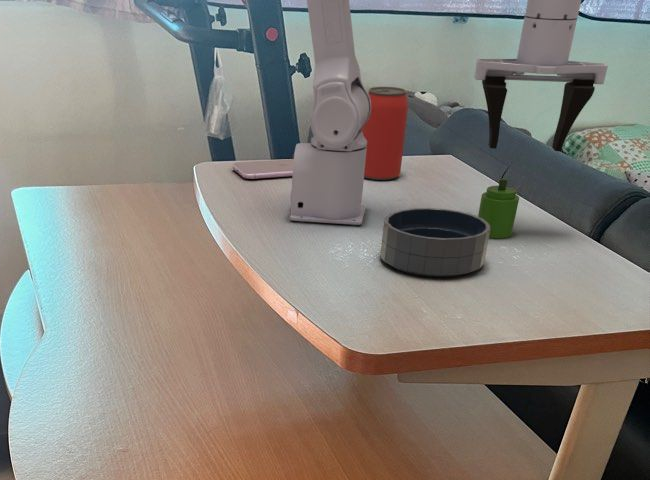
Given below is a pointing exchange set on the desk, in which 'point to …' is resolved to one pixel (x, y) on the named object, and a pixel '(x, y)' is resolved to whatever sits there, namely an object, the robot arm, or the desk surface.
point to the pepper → (499, 209)
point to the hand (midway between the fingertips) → (524, 148)
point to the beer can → (385, 132)
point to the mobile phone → (265, 169)
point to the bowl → (434, 242)
